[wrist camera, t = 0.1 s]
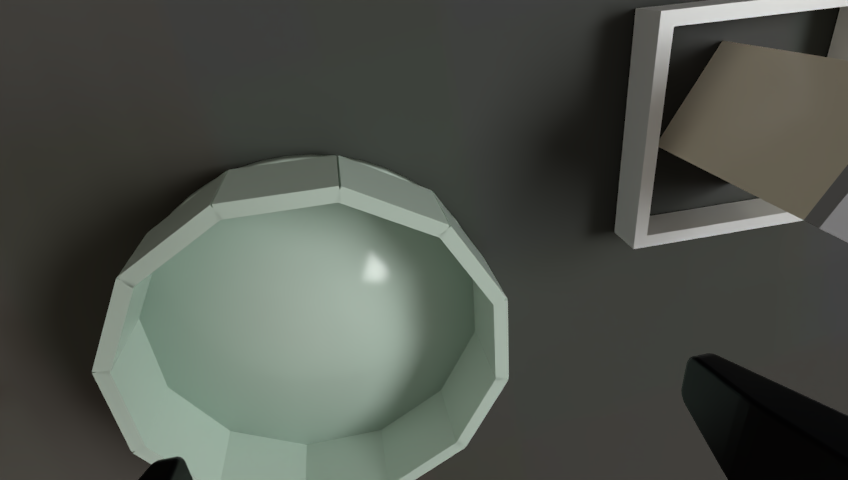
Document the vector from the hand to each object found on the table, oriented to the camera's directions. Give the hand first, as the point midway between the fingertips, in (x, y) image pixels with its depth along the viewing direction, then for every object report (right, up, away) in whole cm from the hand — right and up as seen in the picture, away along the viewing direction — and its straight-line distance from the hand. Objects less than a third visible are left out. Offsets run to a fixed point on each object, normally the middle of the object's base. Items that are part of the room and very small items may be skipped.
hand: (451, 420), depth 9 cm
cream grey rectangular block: (+14, +9, +15) cm, 22 cm away
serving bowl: (-5, -1, +16) cm, 17 cm away
